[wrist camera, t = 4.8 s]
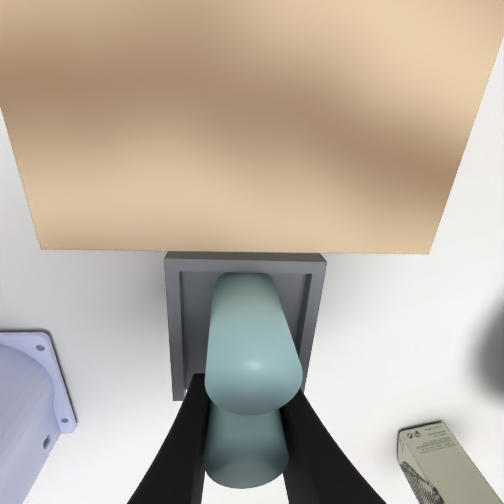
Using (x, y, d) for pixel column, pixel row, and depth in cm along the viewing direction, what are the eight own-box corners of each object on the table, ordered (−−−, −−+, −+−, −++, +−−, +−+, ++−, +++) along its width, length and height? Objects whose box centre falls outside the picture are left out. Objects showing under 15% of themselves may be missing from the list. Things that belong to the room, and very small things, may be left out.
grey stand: (289, 414, 15) (317, 538, 11) (180, 418, 15) (158, 551, 10) (315, 248, 12) (377, 324, 7) (171, 244, 11) (129, 324, 6)
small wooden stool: (350, 205, 16) (428, 254, 10) (119, 198, 15) (40, 249, 9) (381, 50, 13) (522, -21, 7) (93, 24, 12) (-55, -91, 6)
